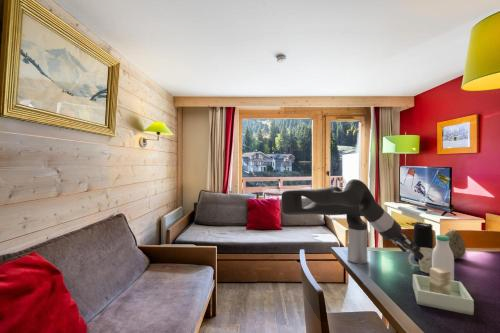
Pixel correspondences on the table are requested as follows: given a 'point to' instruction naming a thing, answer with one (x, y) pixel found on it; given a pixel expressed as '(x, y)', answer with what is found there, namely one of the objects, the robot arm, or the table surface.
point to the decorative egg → (456, 244)
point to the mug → (424, 259)
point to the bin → (443, 296)
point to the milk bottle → (443, 255)
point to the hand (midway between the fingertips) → (413, 254)
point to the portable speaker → (423, 235)
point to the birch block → (440, 281)
